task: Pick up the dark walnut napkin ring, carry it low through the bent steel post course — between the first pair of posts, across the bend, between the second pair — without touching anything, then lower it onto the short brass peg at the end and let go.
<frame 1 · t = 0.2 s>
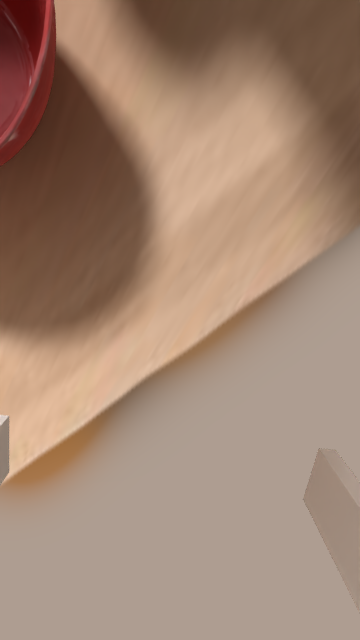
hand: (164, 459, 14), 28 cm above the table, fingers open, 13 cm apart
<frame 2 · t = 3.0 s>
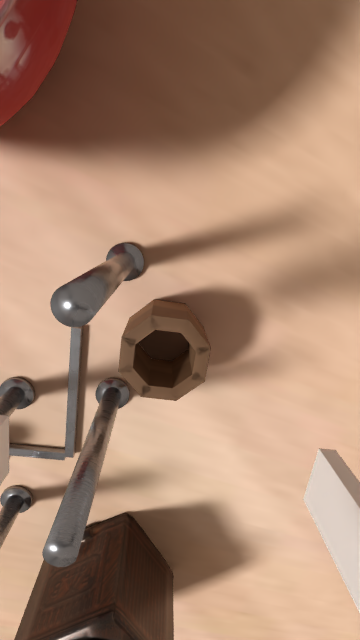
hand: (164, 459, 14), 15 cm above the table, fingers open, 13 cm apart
wire course: (73, 398, 29), on the table
napkin ring: (164, 336, 28), on the table
brown coffee grinder: (90, 565, 35), on the table
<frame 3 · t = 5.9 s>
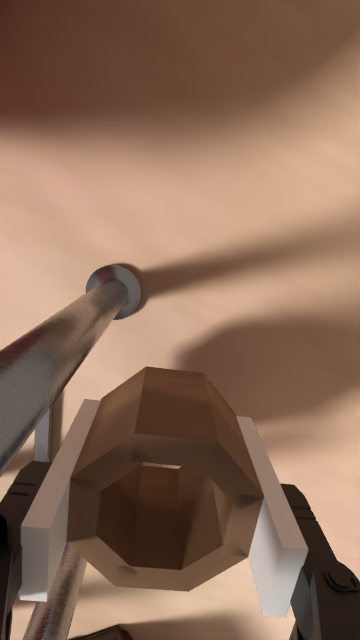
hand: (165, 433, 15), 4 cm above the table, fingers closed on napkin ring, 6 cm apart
wire course: (43, 479, 21), on the table
napkin ring: (165, 429, 16), point 4 cm above the table, touching gripper
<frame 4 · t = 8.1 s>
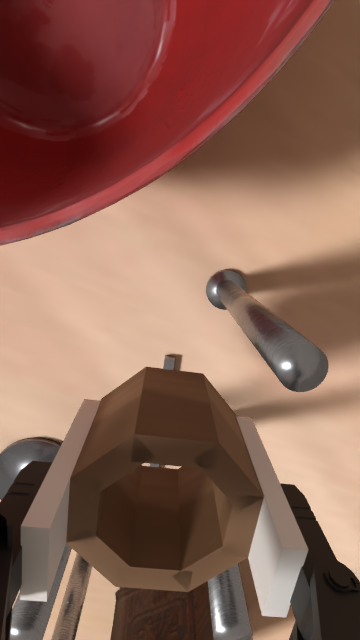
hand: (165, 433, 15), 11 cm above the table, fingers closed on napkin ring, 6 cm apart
wire course: (159, 430, 28), on the table
napkin ring: (165, 430, 16), point 11 cm above the table, touching gripper
brown coffee grinder: (161, 605, 33), on the table
mixing bowl: (50, 6, 20), on the table
brass peg: (40, 476, 29), on the table
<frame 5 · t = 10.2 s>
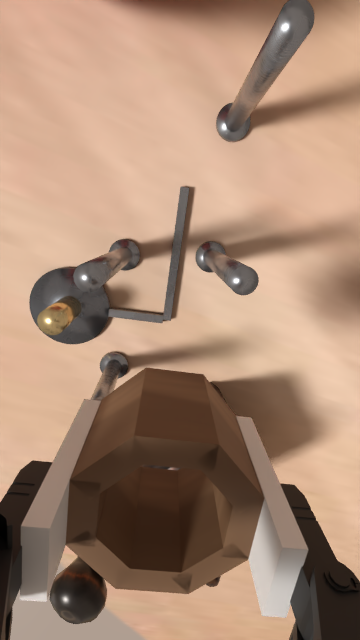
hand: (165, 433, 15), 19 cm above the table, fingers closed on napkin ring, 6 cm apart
wire course: (174, 261, 32), on the table
napkin ring: (165, 431, 15), point 19 cm above the table, touching gripper
brown coffee grinder: (173, 439, 38), on the table
brass peg: (71, 306, 33), on the table
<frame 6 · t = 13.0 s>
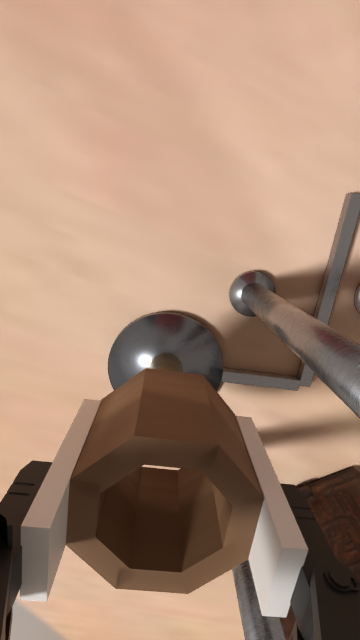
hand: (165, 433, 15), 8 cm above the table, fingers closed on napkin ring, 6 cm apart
wire course: (322, 303, 22), on the table
napkin ring: (165, 431, 15), point 7 cm above the table, touching gripper
brown coffee grinder: (289, 538, 28), on the table
brass peg: (165, 366, 23), on the table
when the fingers open (2 cm above the table, at t = 14.3 s): napkin ring drops 1 cm, resting on brass peg.
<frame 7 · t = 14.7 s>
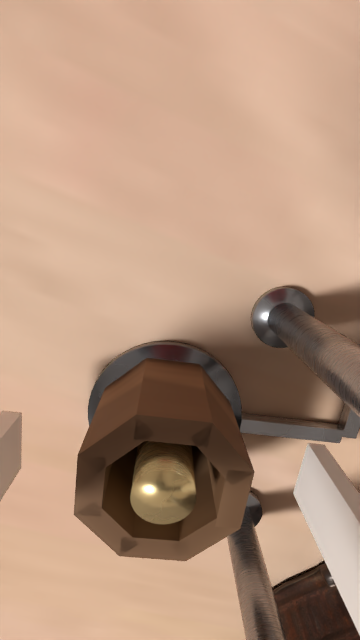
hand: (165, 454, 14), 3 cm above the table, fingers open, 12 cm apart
napkin ring: (164, 417, 17), resting on brass peg
brown coffee grinder: (320, 616, 22), on the table
brass peg: (165, 411, 17), on the table
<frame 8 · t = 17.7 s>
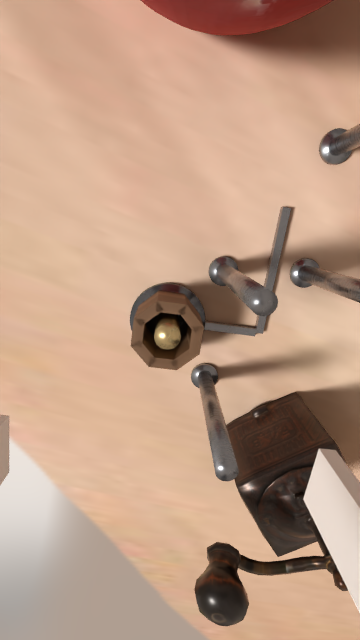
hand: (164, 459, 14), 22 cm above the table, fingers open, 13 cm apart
wire course: (269, 277, 33), on the table
napkin ring: (167, 321, 34), resting on brass peg
brown coffee grinder: (254, 446, 39), on the table
brass peg: (167, 319, 34), on the table
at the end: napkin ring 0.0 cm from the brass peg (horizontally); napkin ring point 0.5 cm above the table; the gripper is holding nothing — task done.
